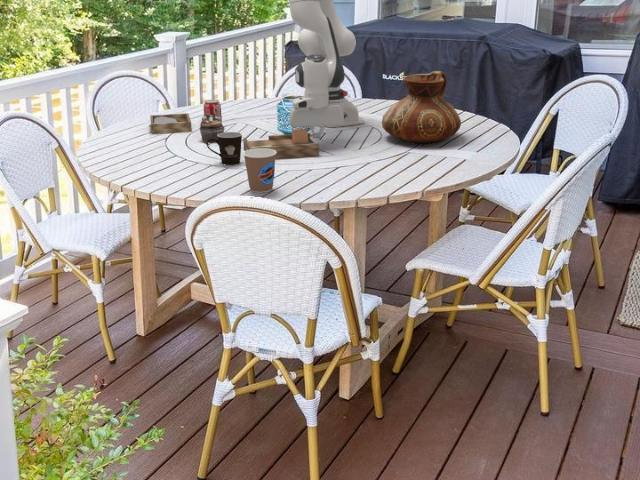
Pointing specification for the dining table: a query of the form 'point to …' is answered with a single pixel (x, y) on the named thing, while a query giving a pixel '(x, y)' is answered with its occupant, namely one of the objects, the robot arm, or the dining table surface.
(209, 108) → the soda can
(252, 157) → the coffee cup
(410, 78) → the jug
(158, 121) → the stone block
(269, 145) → the trap box
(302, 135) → the block
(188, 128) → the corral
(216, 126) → the cupcake
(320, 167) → the dining table surface
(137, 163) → the dining table surface
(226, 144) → the coffee mug
